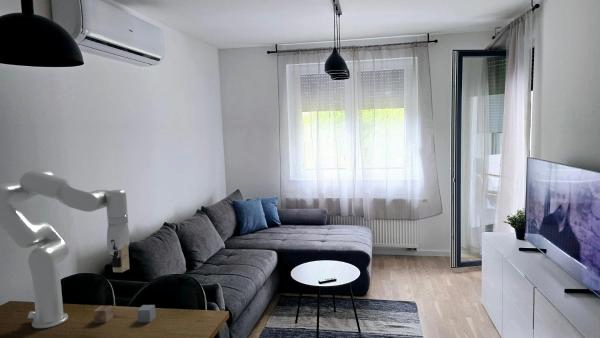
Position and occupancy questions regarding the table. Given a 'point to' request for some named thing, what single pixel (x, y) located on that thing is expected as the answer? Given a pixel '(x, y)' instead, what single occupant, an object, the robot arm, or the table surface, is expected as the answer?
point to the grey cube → (146, 313)
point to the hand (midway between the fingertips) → (120, 264)
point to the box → (123, 259)
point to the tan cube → (103, 314)
